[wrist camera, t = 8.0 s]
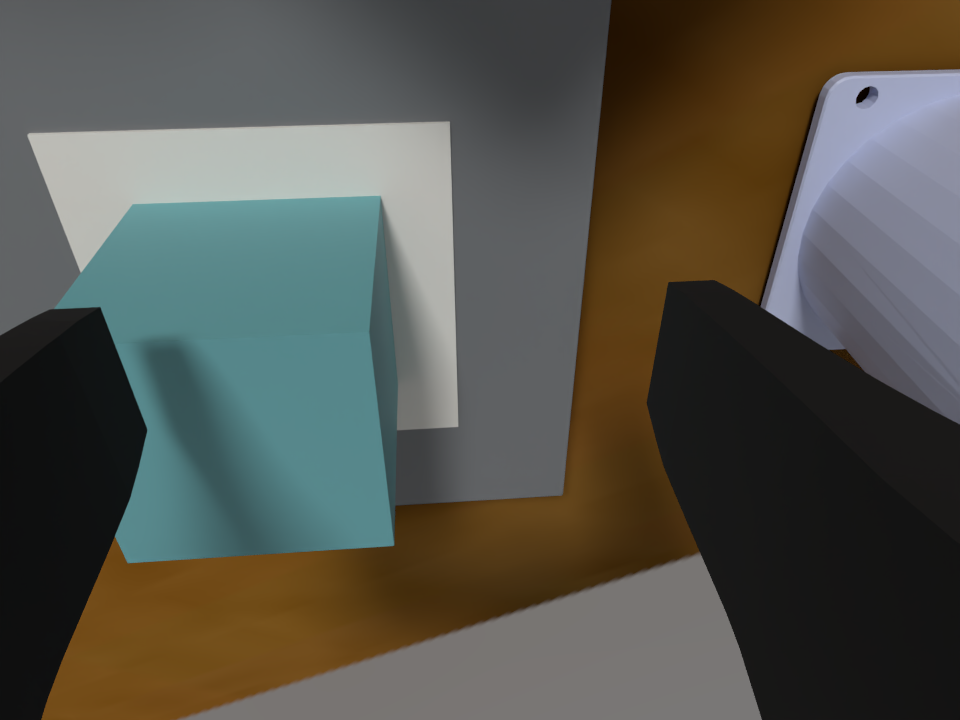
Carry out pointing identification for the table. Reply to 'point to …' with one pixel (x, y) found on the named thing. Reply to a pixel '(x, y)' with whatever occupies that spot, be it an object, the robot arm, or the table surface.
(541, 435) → the white-inset grey tile
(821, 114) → the robot arm
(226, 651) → the table surface
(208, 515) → the teal cube
